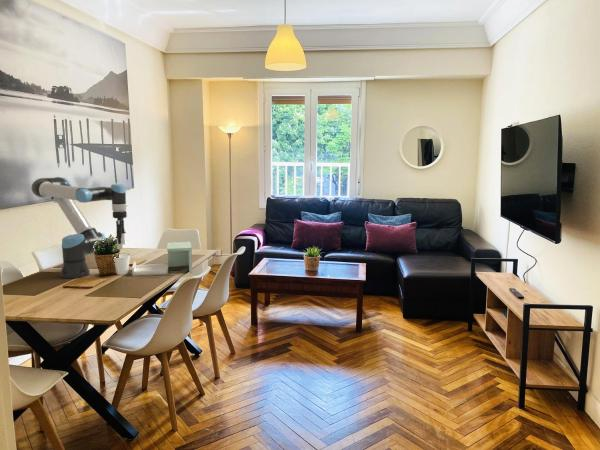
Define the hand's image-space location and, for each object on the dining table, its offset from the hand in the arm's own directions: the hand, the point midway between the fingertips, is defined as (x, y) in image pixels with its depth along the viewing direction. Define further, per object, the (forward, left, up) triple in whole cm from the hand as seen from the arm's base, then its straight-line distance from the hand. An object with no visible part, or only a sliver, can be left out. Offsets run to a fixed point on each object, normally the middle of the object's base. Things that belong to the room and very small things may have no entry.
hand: (121, 246), depth 260 cm
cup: (0, 0, -17) cm, 17 cm away
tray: (+16, +1, -16) cm, 23 cm away
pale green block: (+33, +2, -16) cm, 37 cm away
